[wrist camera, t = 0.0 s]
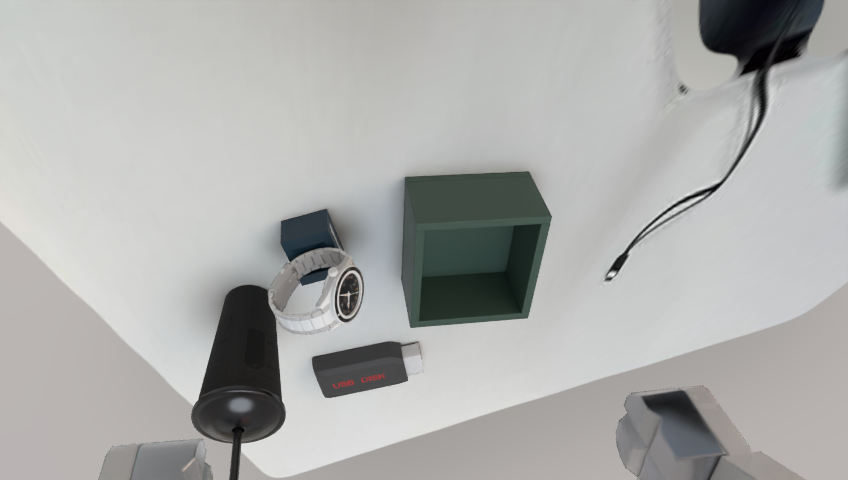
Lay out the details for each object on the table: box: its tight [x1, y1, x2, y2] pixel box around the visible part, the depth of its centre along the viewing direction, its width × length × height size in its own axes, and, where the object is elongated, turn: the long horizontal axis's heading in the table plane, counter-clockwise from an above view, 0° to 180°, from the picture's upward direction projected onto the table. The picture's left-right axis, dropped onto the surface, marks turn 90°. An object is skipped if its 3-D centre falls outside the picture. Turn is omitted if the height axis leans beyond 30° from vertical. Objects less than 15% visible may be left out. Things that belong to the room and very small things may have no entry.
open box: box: [401, 172, 552, 328], centre depth 57 cm, size 13×12×7 cm
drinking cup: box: [191, 286, 286, 480], centre depth 54 cm, size 8×8×20 cm
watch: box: [268, 209, 364, 335], centre depth 54 cm, size 6×8×11 cm
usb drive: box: [312, 342, 424, 398], centre depth 70 cm, size 5×12×3 cm, turn 98°
